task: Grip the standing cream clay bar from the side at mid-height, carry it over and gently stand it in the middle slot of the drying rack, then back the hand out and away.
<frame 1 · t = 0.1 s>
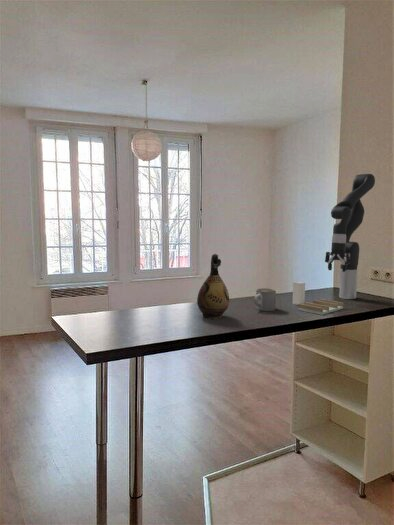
hand: (336, 270, 227), 17 cm above the table, fingers open, 8 cm apart
drying rack: (320, 309, 208), on the table
clay bar: (298, 304, 221), on the table
ceramic jug: (213, 316, 194), on the table
coffee mug: (263, 309, 209), on the table
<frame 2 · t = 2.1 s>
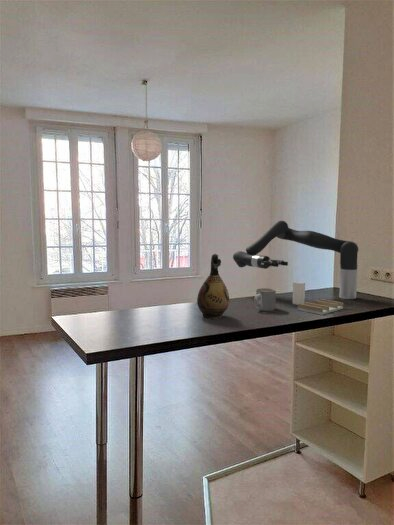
hand: (282, 264, 227), 21 cm above the table, fingers open, 8 cm apart
nothing on the table moved.
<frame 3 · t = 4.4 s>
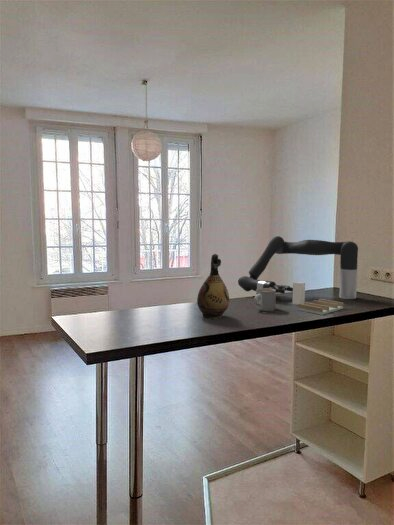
hand: (289, 290, 225), 6 cm above the table, fingers open, 8 cm apart
nothing on the table moved.
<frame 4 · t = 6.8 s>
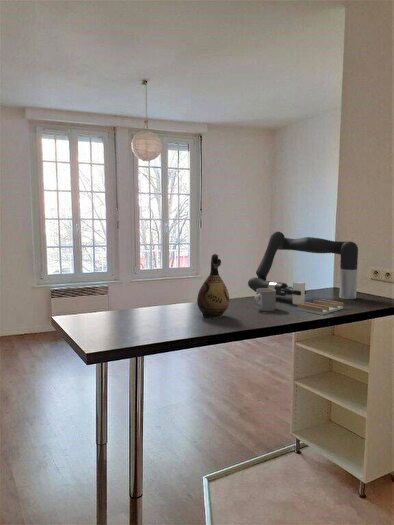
hand: (303, 292, 218), 7 cm above the table, fingers closed on clay bar, 4 cm apart
clay bar: (298, 304, 221), on the table, touching gripper
everything else where it was.
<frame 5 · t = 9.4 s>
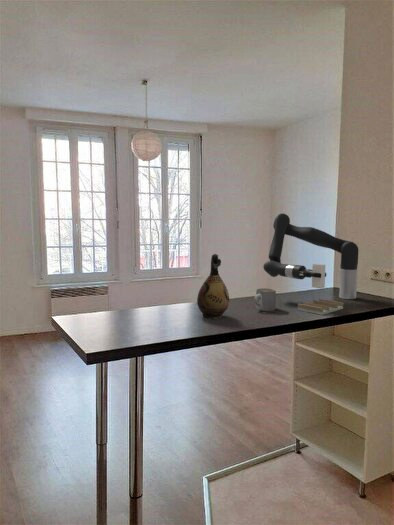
hand: (323, 275, 206), 18 cm above the table, fingers closed on clay bar, 4 cm apart
clay bar: (318, 287, 209), point 11 cm above the table, touching gripper
everything else where it was.
when the fingers open (9 cm above the table, at t = 12.1 s): clay bar drops 1 cm, resting on drying rack.
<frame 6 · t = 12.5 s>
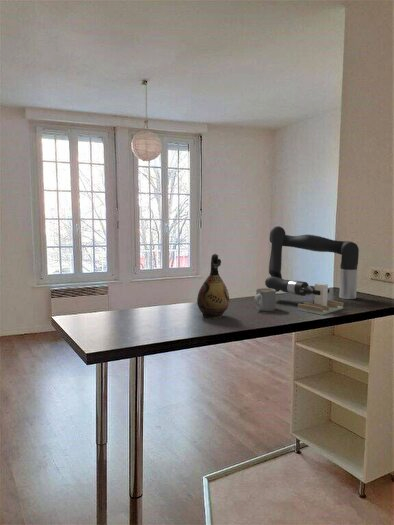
hand: (324, 292, 206), 9 cm above the table, fingers open, 8 cm apart
clay bar: (320, 307, 208), point 1 cm above the table, touching drying rack
everything else where it was.
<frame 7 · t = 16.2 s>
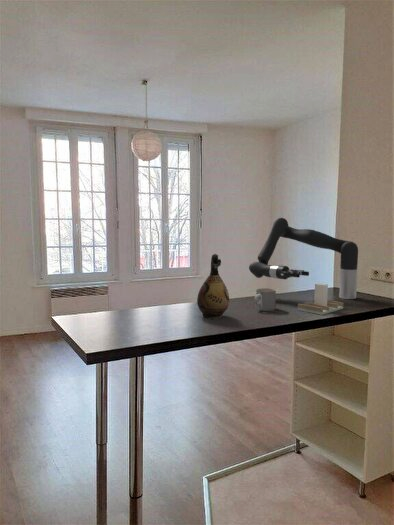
hand: (304, 274, 214), 17 cm above the table, fingers open, 8 cm apart
nothing on the table moved.
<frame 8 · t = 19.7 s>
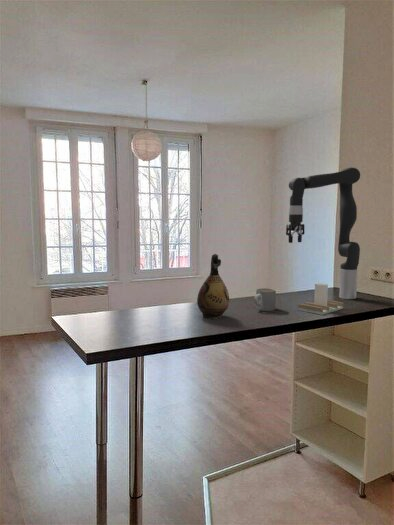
hand: (295, 242, 229), 33 cm above the table, fingers open, 8 cm apart
nothing on the table moved.
at the end: clay bar inside the target area on the drying rack (0.0 cm from its centre), point 1.2 cm above the drying rack's base; clay bar tilted 0°; the gripper is holding nothing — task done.
